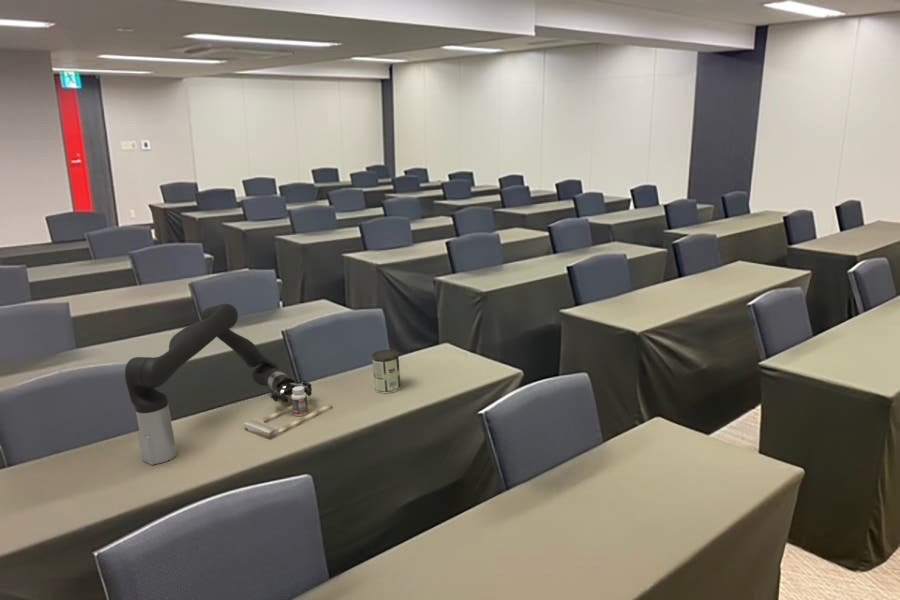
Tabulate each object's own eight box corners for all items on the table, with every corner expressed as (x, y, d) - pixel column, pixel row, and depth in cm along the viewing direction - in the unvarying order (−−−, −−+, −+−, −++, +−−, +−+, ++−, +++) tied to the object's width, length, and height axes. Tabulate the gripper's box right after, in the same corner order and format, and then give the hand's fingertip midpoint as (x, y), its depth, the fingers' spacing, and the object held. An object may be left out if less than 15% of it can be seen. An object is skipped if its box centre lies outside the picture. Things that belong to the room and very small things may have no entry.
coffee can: (385, 381, 251) (382, 348, 247) (406, 385, 246) (403, 351, 242) (368, 390, 243) (365, 356, 239) (390, 395, 237) (387, 360, 234)
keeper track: (269, 439, 208) (268, 432, 207) (244, 429, 215) (243, 423, 215) (332, 408, 229) (331, 401, 228) (307, 400, 237) (307, 394, 236)
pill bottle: (301, 417, 222) (298, 392, 220) (290, 415, 225) (286, 389, 222) (311, 411, 227) (308, 386, 224) (300, 409, 230) (297, 384, 227)
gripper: (261, 379, 232) (278, 392, 219) (298, 369, 240) (316, 381, 227) (264, 398, 234) (281, 412, 221) (300, 387, 242) (318, 400, 229)
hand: (298, 396), depth 224 cm, fingers open, 8 cm apart
